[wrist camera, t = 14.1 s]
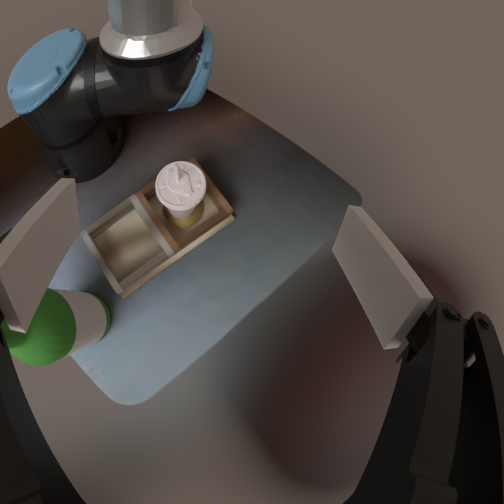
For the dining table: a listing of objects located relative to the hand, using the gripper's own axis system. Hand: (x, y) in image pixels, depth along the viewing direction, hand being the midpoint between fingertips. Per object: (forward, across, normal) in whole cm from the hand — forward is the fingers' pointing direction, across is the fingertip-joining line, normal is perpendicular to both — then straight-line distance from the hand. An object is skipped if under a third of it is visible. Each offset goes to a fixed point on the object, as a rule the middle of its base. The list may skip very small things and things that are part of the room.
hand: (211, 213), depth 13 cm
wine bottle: (+17, -16, -28) cm, 37 cm away
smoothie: (+29, -3, -15) cm, 32 cm away
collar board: (+27, -6, -18) cm, 33 cm away
